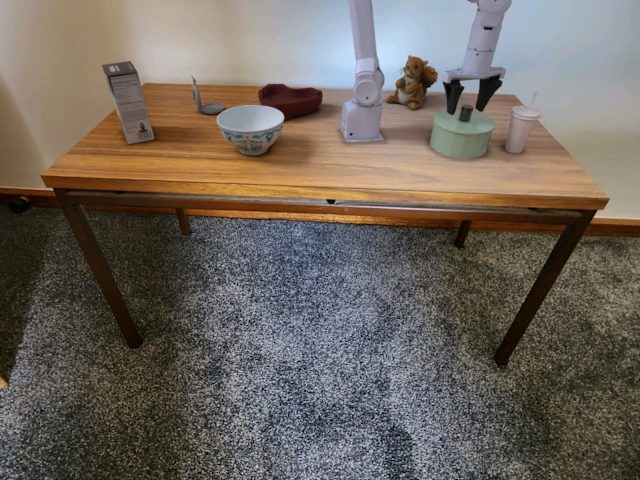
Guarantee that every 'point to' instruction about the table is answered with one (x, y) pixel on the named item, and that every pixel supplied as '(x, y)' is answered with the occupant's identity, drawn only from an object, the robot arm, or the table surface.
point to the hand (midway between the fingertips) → (464, 111)
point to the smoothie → (521, 126)
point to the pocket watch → (206, 108)
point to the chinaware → (251, 127)
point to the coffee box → (129, 101)
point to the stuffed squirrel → (414, 83)
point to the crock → (458, 143)
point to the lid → (465, 121)
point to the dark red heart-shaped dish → (290, 99)
